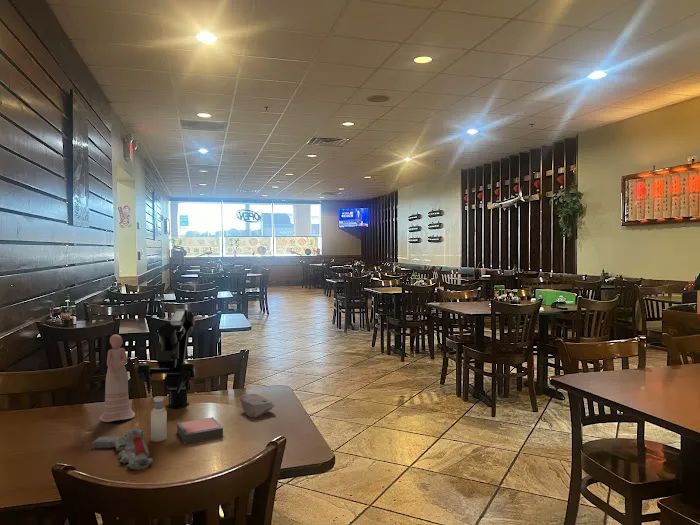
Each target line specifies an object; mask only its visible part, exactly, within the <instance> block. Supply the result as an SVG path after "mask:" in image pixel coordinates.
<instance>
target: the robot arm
mask: <svg viewBox="0 0 700 525" xmlns="http://www.w3.org/2000/svg"><path fill="white" fill-rule="evenodd" d="M195 325H196V320H195V316H194V314H193V313H191V312H189V310H188V309H186V308H177V309H174V311H173V314H172V318H171V319H170V321H165V322H164V324H162V325H161V326H160V327H159V328H158V329H157V334H158V337H159V342H160V345H161V350H157V353H156V361H157V362H156V366H158V367H151V364H148V363H147V364H145V363H142V364H141V363H140V364H139V365H138V366H137V367H136V374H137V376H138V379H139V380H142V382H145V383H146V389H147V394H148V395H150V394H151V391H152V382H153V379H152V377H153V376H152V375H163V374H164V375H165V376H164V392H165V393H166V392H167V393H168V404H166V405H165V407H167V408H171V409H181V408H183V407H185V406H189V405H190V402H188V394H187V392H188V391H190V390H191V389H192V388H191V379H194V378H195V377H196V367H195V363H193V362H190V363H189V362H185V361H186V354H187V347H188V346H187V344H188V337H189V336H190V335H191V334H192V333H193V329H194V327H195Z"/></svg>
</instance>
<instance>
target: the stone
mask: <svg viewBox="0 0 700 525" xmlns="http://www.w3.org/2000/svg"><path fill="white" fill-rule="evenodd" d="M239 398H240V403H241V406H242V411H244V413H245V415H246V416H248V417H249V418H260V417H261V416H263V415H264V414H266V413H267V412H269V411H271V410H272V409H273V408H274V407H275V404H274V403H273V402H272V401H271V400H270V399H269V398H266V397H264V396H262V395H259V394H258V393H250V394H243V395H240V397H239Z"/></svg>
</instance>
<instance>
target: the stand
mask: <svg viewBox="0 0 700 525" xmlns="http://www.w3.org/2000/svg"><path fill="white" fill-rule="evenodd" d="M176 431H177V434H178V435H179V437H180V439H181V440H182V441H183V443H184V444H185V445H187V444H192V443H200V442H205V441H210V440H215V439H220V438H224V428H223V427H222V425H221V424H220V423H219V422H218V421H217V420H216V419H215V418H214V417H206V418H202V419H201V418H200V419H193V420H189V421H188V420H187V421H181V422H177V423H176Z"/></svg>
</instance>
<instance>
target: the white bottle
mask: <svg viewBox="0 0 700 525" xmlns="http://www.w3.org/2000/svg"><path fill="white" fill-rule="evenodd" d="M164 398H165V397H164V396H162V395H157V396H154V397H153V402H154V407H153V408H152V410H151V411H150V441H151V442H156V443H157V442H163V441H166V440H167V438H168V432H167V431H168V430H167V429H168V426H167V425H168V424H167V423H168V422H167V421H168V418H167V416H168V415H167V414H168V413H167V409H165V406H163V402H164V400H165V399H164Z"/></svg>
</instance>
